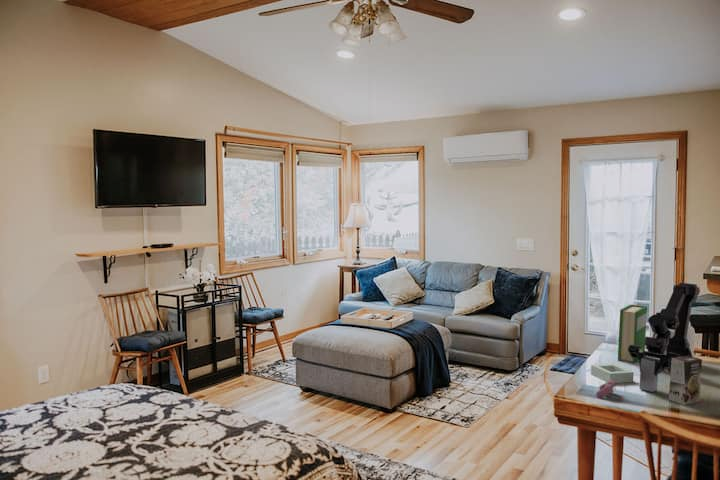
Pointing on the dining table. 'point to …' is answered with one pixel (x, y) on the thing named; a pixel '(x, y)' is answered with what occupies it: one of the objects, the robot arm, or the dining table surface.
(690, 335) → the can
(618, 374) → the well block
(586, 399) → the dining table surface
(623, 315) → the hardback book
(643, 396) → the dining table surface
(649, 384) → the gray rectangular block
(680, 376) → the coffee box
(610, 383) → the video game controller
